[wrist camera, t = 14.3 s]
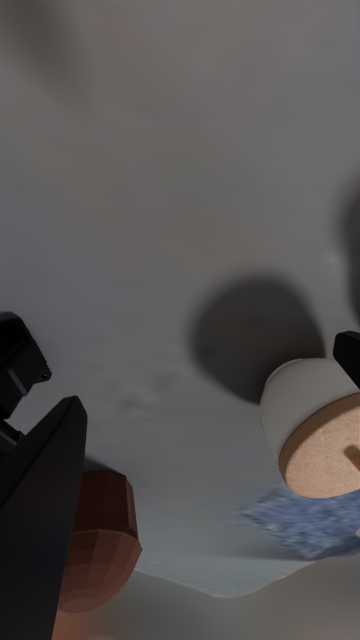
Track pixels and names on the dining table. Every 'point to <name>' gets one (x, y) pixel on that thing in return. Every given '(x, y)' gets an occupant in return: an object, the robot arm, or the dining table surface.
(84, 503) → the muffin
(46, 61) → the dining table surface
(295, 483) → the lidded bowl
